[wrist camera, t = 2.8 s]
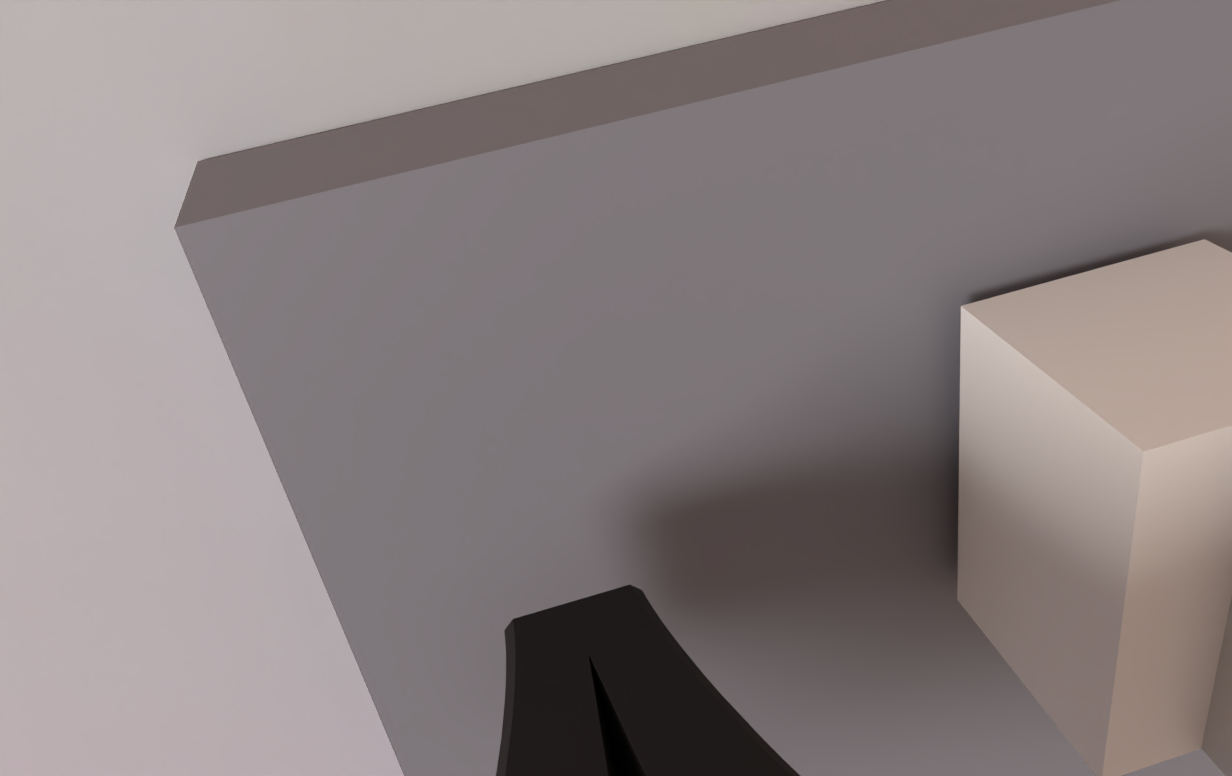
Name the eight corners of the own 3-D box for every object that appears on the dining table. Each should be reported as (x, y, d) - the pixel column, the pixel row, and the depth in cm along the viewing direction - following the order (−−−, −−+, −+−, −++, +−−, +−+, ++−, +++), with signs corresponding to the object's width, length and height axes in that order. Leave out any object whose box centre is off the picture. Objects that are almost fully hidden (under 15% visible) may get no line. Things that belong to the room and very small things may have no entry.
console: (519, 980, 19) (538, 1101, 17) (197, 161, 11) (172, 232, 9) (1362, 693, 21) (1457, 774, 20) (1632, -174, 13) (1838, -169, 11)
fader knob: (956, 599, 14) (1138, 829, 11) (960, 305, 11) (1193, 491, 8) (1160, 536, 14) (1392, 740, 11) (1205, 238, 12) (1514, 393, 9)
